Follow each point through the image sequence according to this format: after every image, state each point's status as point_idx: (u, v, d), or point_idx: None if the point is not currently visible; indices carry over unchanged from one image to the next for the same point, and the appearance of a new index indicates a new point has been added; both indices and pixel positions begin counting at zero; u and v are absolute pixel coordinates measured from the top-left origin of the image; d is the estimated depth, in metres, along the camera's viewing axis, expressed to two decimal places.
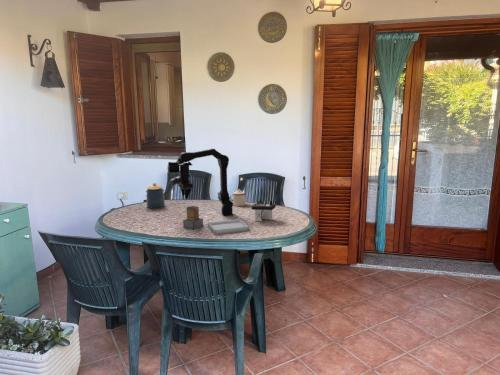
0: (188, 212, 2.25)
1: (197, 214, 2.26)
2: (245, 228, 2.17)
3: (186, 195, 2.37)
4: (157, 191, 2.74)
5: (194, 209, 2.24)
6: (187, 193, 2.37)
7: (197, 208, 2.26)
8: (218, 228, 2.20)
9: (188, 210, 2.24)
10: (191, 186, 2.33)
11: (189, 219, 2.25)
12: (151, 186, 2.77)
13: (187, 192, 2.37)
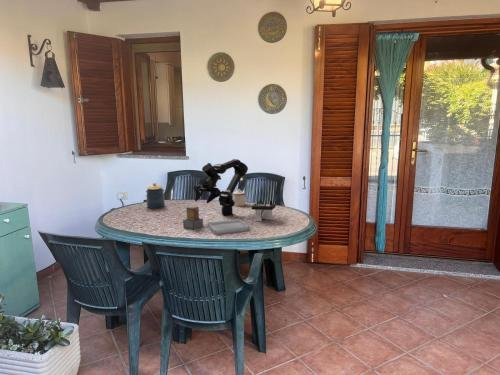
0: (188, 212, 2.25)
1: (197, 214, 2.26)
2: (245, 228, 2.17)
3: (209, 200, 2.30)
4: (157, 191, 2.74)
5: (194, 209, 2.24)
6: (211, 199, 2.31)
7: (197, 208, 2.26)
8: (218, 228, 2.20)
9: (188, 210, 2.24)
10: (220, 194, 2.32)
11: (189, 219, 2.25)
12: (151, 186, 2.77)
13: (211, 198, 2.31)
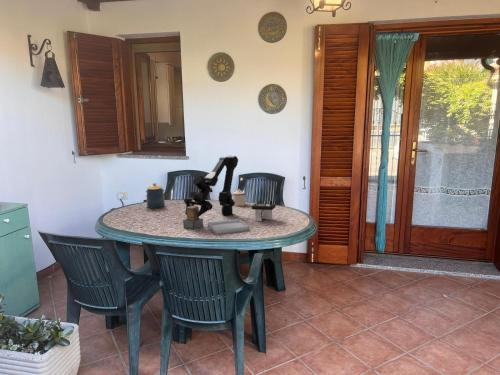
0: (188, 212, 2.25)
1: None
2: (245, 228, 2.17)
3: (200, 213, 2.24)
4: (157, 191, 2.74)
5: (194, 209, 2.24)
6: (201, 212, 2.24)
7: (197, 208, 2.26)
8: (218, 228, 2.20)
9: (188, 210, 2.24)
10: (211, 207, 2.26)
11: (189, 219, 2.25)
12: (151, 186, 2.77)
13: (202, 211, 2.25)
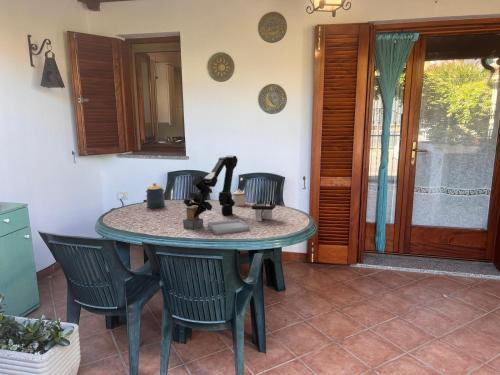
0: (188, 212, 2.25)
1: None
2: (245, 228, 2.17)
3: (197, 214, 2.24)
4: (157, 191, 2.74)
5: (194, 209, 2.24)
6: (199, 212, 2.25)
7: (197, 208, 2.26)
8: (218, 228, 2.20)
9: (188, 210, 2.24)
10: (211, 208, 2.26)
11: (189, 219, 2.25)
12: (151, 186, 2.77)
13: (199, 211, 2.25)
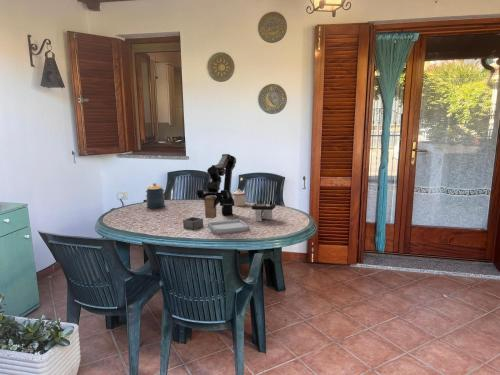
0: (207, 202, 2.18)
1: None
2: (245, 228, 2.17)
3: (216, 203, 2.20)
4: (157, 191, 2.74)
5: (213, 199, 2.18)
6: (217, 202, 2.21)
7: (215, 197, 2.21)
8: (218, 228, 2.20)
9: (207, 200, 2.18)
10: (228, 197, 2.24)
11: (208, 209, 2.19)
12: (151, 186, 2.77)
13: (217, 201, 2.21)
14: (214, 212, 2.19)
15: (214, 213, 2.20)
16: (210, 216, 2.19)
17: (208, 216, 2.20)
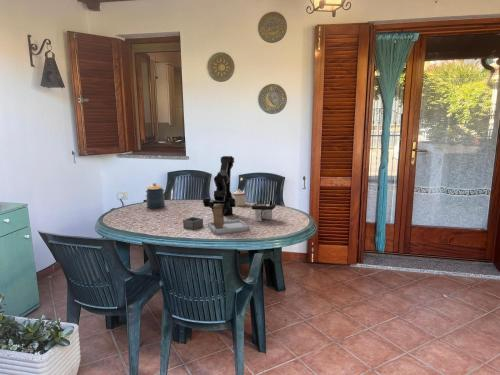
0: (215, 211, 2.18)
1: None
2: (245, 228, 2.17)
3: (224, 212, 2.21)
4: (157, 191, 2.74)
5: (222, 207, 2.19)
6: (225, 210, 2.22)
7: (222, 206, 2.22)
8: (218, 228, 2.20)
9: (215, 209, 2.18)
10: (235, 205, 2.25)
11: (216, 218, 2.19)
12: (151, 186, 2.77)
13: (225, 209, 2.22)
14: (222, 220, 2.20)
15: (222, 221, 2.21)
16: (219, 225, 2.20)
17: (216, 225, 2.20)
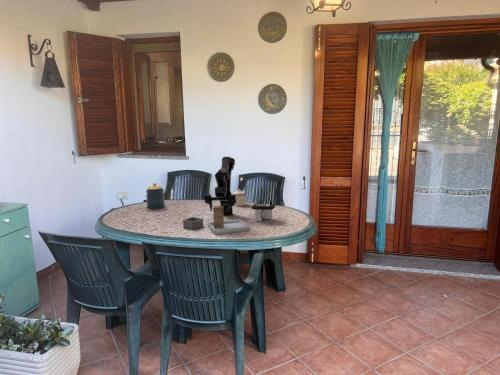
0: (215, 212, 2.19)
1: None
2: (245, 228, 2.17)
3: (228, 208, 2.23)
4: (157, 191, 2.74)
5: (222, 209, 2.19)
6: (229, 206, 2.24)
7: None
8: (218, 228, 2.20)
9: (215, 210, 2.18)
10: None
11: (216, 219, 2.19)
12: (151, 186, 2.77)
13: (229, 205, 2.25)
14: (222, 222, 2.20)
15: (222, 223, 2.21)
16: (219, 226, 2.20)
17: (216, 226, 2.20)
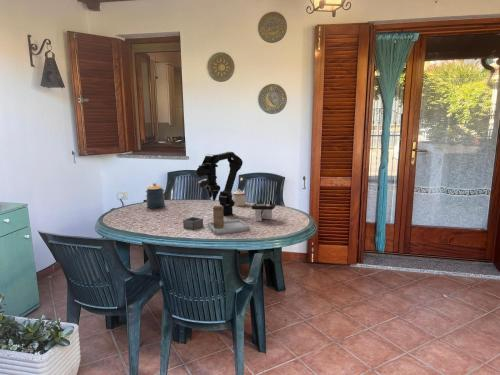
0: (215, 212, 2.19)
1: None
2: (245, 228, 2.17)
3: (214, 197, 2.36)
4: (157, 191, 2.74)
5: (222, 209, 2.19)
6: (215, 195, 2.36)
7: None
8: (218, 228, 2.20)
9: (215, 210, 2.18)
10: (219, 188, 2.32)
11: (216, 219, 2.19)
12: (151, 186, 2.77)
13: (215, 194, 2.36)
14: (222, 222, 2.20)
15: (222, 223, 2.21)
16: (219, 226, 2.20)
17: (216, 226, 2.20)
